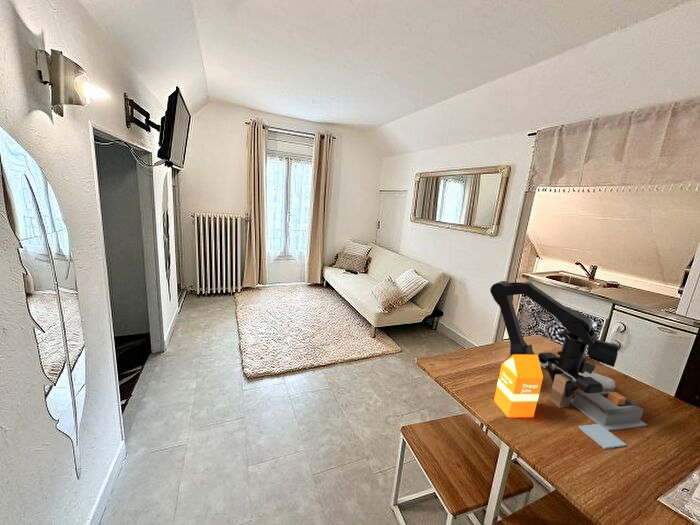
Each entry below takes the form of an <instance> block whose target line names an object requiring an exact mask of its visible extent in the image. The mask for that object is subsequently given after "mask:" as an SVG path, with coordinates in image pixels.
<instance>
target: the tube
mask: <svg viewBox="0 0 700 525" xmlns="http://www.w3.org/2000/svg"><path fill="white" fill-rule="evenodd" d="M539 354H540V353H538V354H537V355H539ZM539 362H540V361H539ZM547 365H548V361H547V363H545V364H543V363H541V362H540V366H541V369H545V370H547V368H546V367H545V366H547ZM563 374H566V373H565V372H564V373H563ZM566 375H568V374H566ZM579 375H581V376H584V377H592V378H593V379H595V380H596V381H598V382H600V383H601V384H602V385H603V389H612V390H613V391H615V388H616V380H614V379H613V378H611V377H608V376H605V375H602V374H600V373H596V372H594V371H593V372H592V373H591V374H589V373H588V372H584V373H579ZM568 376H569V375H568ZM569 377H571V376H569ZM571 378H572V377H571Z"/></svg>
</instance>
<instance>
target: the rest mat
mask: <svg viewBox="0 0 700 525" xmlns="http://www.w3.org/2000/svg"><path fill="white" fill-rule="evenodd" d="M578 429H579V430H580V431H582V432H583V433H584V434H586V435H587V436H588V437H589V438H591V439H592V441H594V442H595V443H596V444H597V445H599V446H600V447H601V448H602V449H604V450H608V449H615V447H617V448H624V447H626V446H627V443H625V442H624V441H623V440H621V439H620V438H618V436H616V435H614V434H613V433H612V432H610V431H608V430H607V429H605V428H604V427H603V426H601V425H600V424H597V423H595V424H594V423H593V424H584V425H578Z"/></svg>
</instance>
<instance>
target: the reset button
mask: <svg viewBox="0 0 700 525" xmlns="http://www.w3.org/2000/svg"><path fill="white" fill-rule="evenodd" d="M607 399H608V400H610V401H611V402H613V403H614V404H616V405H624V403H625V400H626V399H627V398H626V397H625V396H623V395H622V394H620V393H618V392H617V391H615V392H612V393H609V394H608V397H607Z"/></svg>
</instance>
